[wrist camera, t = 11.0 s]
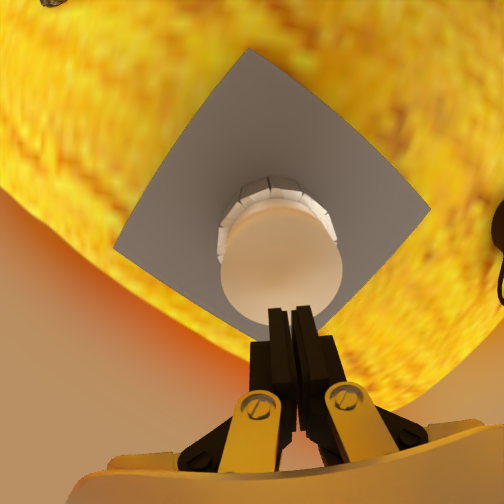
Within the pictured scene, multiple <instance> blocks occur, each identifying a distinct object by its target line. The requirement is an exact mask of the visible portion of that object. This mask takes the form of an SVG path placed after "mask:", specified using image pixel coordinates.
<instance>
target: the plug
mask: <svg viewBox="0 0 504 504" xmlns="http://www.w3.org/2000/svg"><path fill="white" fill-rule="evenodd" d="M341 280H342V260H341V256H340V253H339V250H338V248H337V246H336V244H335V243H334V241H333V240H332V238H331V236H330V235H329V233H328V232H327V230H326V228H325V227H324V225H323V224H322V222H321V221H320V219H319V218H318V217H317V215H316V214H315V213H314V212H313V211H312V210H310V209H309V208H308V207H306V206H305V205H303V204H301V203H298V202H296V201H293V200H289V199H268V200H264V201H261V202H258V203H256V204H254V205H252V206H250V207H249V208H247V209H246V210H245V211H243V212H242V213H241V214H240V215H239V216H238V218H237V219H236V220H235V222H234V223H233V225H232V227H231V229H230V232H229V235H228V239H227V244H226V248H225V252H224V257H223V261H222V265H221V283H222V287H223V290H224V293H225V295H226V297H227V299H228V301H229V302H230V303H231V305H232V306H233V307H234V308H235V309H236V310H237V311H238V312H239V313H241V314H242V315H243V316H245V317H246V318H248V319H250V320H252V321H254V322H257V323H260V324H264V325H269V320H268V308H280V307H281V309H282V311H287V314H288V320H289V325H291V310H296V306H304V305H310V307H311V310H312V314H313V317H314V316H316V315H317V314H319V313H320V312H321V311H323V310H324V309H325V308H326V307H327V306H328V305H329V304H330V302H331V301H332V300H333V298H334V297H335V295H336V293H337V291H338V289H339V287H340V283H341Z"/></svg>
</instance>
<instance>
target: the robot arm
mask: <svg viewBox="0 0 504 504" xmlns="http://www.w3.org/2000/svg"><path fill="white" fill-rule="evenodd" d="M268 320H269V337H270V341H257V342H251V343H250V383H249V384H250V385H249V392H248V393H246V394H244V395H243V396H241V398H240V399H239V400H238V401H237V404H236V406H235V410H234V414H233V416H232V417H231V418H229V419H228V420H227V421H225V422H224V423H222V424H221V425H220V426H218V427H217V428H215V429H214V430H213V431H211V432H210V433H208V434H207V435H205V436H204V437H202V438H201V439H200V440H198V441H196V442H195V443H194V444H192V445H191V446H189V447H187V448H186V449H185V450H184V451H183V452H181V453H176V454H173V452H162V453H149V454H134V455H121V456H116V457H115V458H113V459H111V461H110V462H109V463H108V466H107V469H106V470H101V471H97V472H94V473H90V474H88V475H86V476H84V477H83V478H81V479H80V480H79V481H78V482H77V483H76V485H75V486H74V488H73V489H72V491H71V493H70V495H69V497H68V499H67V501H66V503H65V504H504V424H495V425H486V426H485V425H484V424H483V423H482V422H481V421H479V420H476V419H469V420H462V421H455V422H447V423H438V424H429V425H428V427H422V426H420V425H419V424H417V423H414V422H412V421H410V420H407V419H405V418H403V417H400V416H398V415H396V414H393V413H391V412H389V411H387V410H384V409H382V408H380V407H378V406H376V405H374V404H373V402H372V400H371V398H370V396H369V395H368V393H367V391H366V390H365V389H364V388H363V387H362V386H361V385H359V384H357V383H354V382H347V380H346V377H345V374H344V371H343V367H342V364H341V361H340V358H339V355H338V351H337V348H336V345H335V342H334V339H333V336H332V335H326V336H318V332H317V329H316V325H315V321H314V318H313V314H312V310H311V307H310V305H304V306H296V310H291V333H290V327H289V320H288V314H287V311H282V309H281V307H280V308H268ZM291 339H292V340H291ZM297 408H298V416H299V424H300V430H301V431H306V436H307V438H309V439H310V440H311V441H313V442H315V443H316V444H318V450H319V452H320V455H321V458H322V461H323V464H324V467H320V468H312V469H304V470H294V471H281V472H280V468H281V460H282V450H283V449H284V448H285V447H286V446H287V445H288V444H289V443H291V442H292V432H296V420H297Z"/></svg>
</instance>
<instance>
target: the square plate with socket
mask: <svg viewBox="0 0 504 504" xmlns="http://www.w3.org/2000/svg"><path fill="white" fill-rule="evenodd" d="M268 199H289V200H293V201H296V202H298V203H301V204H303V205H305V206H306V207H308V208H309V209H310V210H312V211H313V212H314V213H315V214H316V215H317V217H318V218H319V219H320V221H321V222H322V224H323V225H324V227H325V228H326V230H327V232H328V233H329V235H330V236H331V238H332V240H333V241H334V243H335V244H336V246H337V248H338V250H339V253H340V256H341V260H342V280H341V283H340V287H339V289H338V291H337V293H336V295H335V297H334V298H333V300H332V301H331V302H330V304H329V305H328V306H327V307H326V308H325V309H324V310H323V311H321V312H320V313H319V314H317V315H316V316H314V317H313V318H314V321H315V325H316V329H317V331H318V330H319V329H320V328H321V327H323V326H324V325H325V324H326V323H327V322H328V321H329V320H330V319H331V318H332V317H333V316H334V315H335V314H336V313H337V312H338V311H339V310H340V309H341V308H342V307H343V306H344V305H345V304H346V303H347V302H348V301H349V300H350V299H351V298H352V297H353V296H354V295H355V294H356V293H357V292H358V291H359V290H360V289H361V288H362V287H363V286H364V285H365V284H366V283H367V282H368V281H369V280H370V279H371V277H372V276H373V275H374V274H375V273H376V272H377V271H378V270H379V269H380V268H381V267H382V266H383V265H384V263H385V262H386V261H387V260H388V259H389V258H390V257H391V256H392V255H393V254H394V252H395V251H396V250H397V249H398V248H399V247H400V246H401V244H402V243H403V242H404V241H405V240H406V239H407V238H408V236H409V235H410V234H411V233H412V232H413V231H414V229H415V228H416V227H417V226H418V225H419V223H420V222H421V221H422V220H423V219H424V217H425V216H426V215H427V214H428V212H429V211H430V210H431V208H430V207H429V206H428V205H427V203H426V202H425V201H424V200H423V199H422V198H421V196H420V195H419V194H418V193H417V192H416V191H415V190H414V189H413V187H412V186H411V185H410V184H409V183H408V182H407V181H406V180H405V179H404V178H403V176H402V175H401V174H400V173H399V172H398V171H397V170H396V169H395V168H394V167H393V166H392V165H391V164H390V163H389V162H388V161H387V160H386V159H385V158H384V157H383V156H382V155H381V154H380V153H379V152H378V151H377V150H376V149H375V148H374V147H373V146H372V145H371V144H370V143H369V142H368V141H367V140H366V139H365V138H364V137H363V136H362V135H361V134H359V133H358V132H357V131H356V130H355V129H354V128H353V127H352V126H351V125H350V124H348V123H347V122H346V121H345V120H344V119H343V118H342V117H341V116H339V115H338V114H337V113H336V112H335V111H334V110H332V109H331V108H330V107H329V106H328V105H326V104H325V103H324V102H323V101H322V100H320V99H319V98H318V97H317V96H315V95H314V94H313V93H312V92H310V91H309V90H308V89H307V88H305V87H304V86H303V85H301V84H300V83H299V82H297V81H296V80H295V79H293V78H292V77H291V76H289V75H288V74H287V73H285V72H284V71H282V70H281V69H280V68H278V67H277V66H275V65H274V64H273V63H271V62H270V61H268V60H267V59H265V58H264V57H262V56H261V55H259V54H258V53H256V52H255V51H253V50H252V49H250V48H248V49H247V50H246V51H245V53H244V54H243V55H242V56H241V57H240V58H239V60H238V61H237V62H236V63H235V64H234V66H233V67H232V68H231V69H230V70H229V72H228V73H227V74H226V75H225V76H224V78H223V79H222V80H221V81H220V83H219V84H218V85H217V87H216V88H215V89H214V90H213V92H212V93H211V94H210V96H209V97H208V98H207V100H206V101H205V102H204V103H203V105H202V106H201V108H200V109H199V110H198V112H197V113H196V114H195V116H194V117H193V118H192V120H191V121H190V123H189V124H188V125H187V127H186V128H185V130H184V131H183V133H182V134H181V135H180V137H179V138H178V140H177V141H176V143H175V144H174V146H173V147H172V149H171V150H170V152H169V153H168V155H167V156H166V158H165V159H164V161H163V162H162V164H161V166H160V167H159V169H158V170H157V172H156V173H155V175H154V177H153V178H152V180H151V181H150V183H149V185H148V186H147V188H146V190H145V191H144V193H143V195H142V196H141V198H140V200H139V201H138V203H137V205H136V207H135V208H134V210H133V212H132V214H131V215H130V217H129V219H128V221H127V223H126V224H125V226H124V228H123V230H122V232H121V234H120V235H119V237H118V239H117V241H116V243H115V245H114V247H113V249H115V250H116V251H117V252H119V253H120V254H122V255H123V256H124V257H126V258H127V259H129V260H130V261H132V262H133V263H134V264H136V265H137V266H139V267H140V268H142V269H143V270H145V271H146V272H148V273H149V274H151V275H152V276H153V277H155V278H156V279H158V280H159V281H161V282H162V283H164V284H166V285H167V286H169V287H170V288H172V289H173V290H175V291H176V292H178V293H179V294H181V295H182V296H184V297H186V298H187V299H189V300H190V301H192V302H193V303H195V304H197V305H198V306H200V307H201V308H203V309H205V310H206V311H208V312H209V313H211V314H213V315H214V316H216V317H218V318H219V319H221V320H222V321H224V322H226V323H227V324H229V325H231V326H232V327H234V328H236V329H238V330H239V331H241V332H243V333H244V334H246V335H248V336H249V337H251V338H253V339H255V340H256V341H270V337H269V325H264V324H260V323H257V322H254V321H252V320H250V319H248V318H246V317H245V316H243V315H242V314H241V313H239V312H238V311H237V310H236V309H235V308H234V307H233V306H232V305H231V303H230V302H229V301H228V299H227V297H226V295H225V293H224V290H223V287H222V283H221V265H222V261H223V257H224V252H225V248H226V244H227V239H228V235H229V232H230V229H231V227H232V225H233V223H234V222H235V220H236V219H237V218H238V216H239V215H240V214H241V213H242V212H243V211H245V210H246V209H247V208H249V207H250V206H252V205H254V204H256V203H258V202H261V201H264V200H268ZM289 327H290V333H291V325H289ZM291 340H292V339H291Z"/></svg>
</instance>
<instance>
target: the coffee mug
mask: <svg viewBox="0 0 504 504" xmlns="http://www.w3.org/2000/svg"><path fill="white" fill-rule="evenodd" d="M491 234H492V239H493V242H494V244H495V245H496V246H497V247H498V248H499V249H500V250H501V251H502V252H503V256H504V200H503V201H502V202H501V203H500V205H499V206H498V208H497V210H496V212H495V214H494V217H493V221H492V228H491ZM503 278H504V257H503V262H502V266H501V270H500V274H499V278H498V288H497V292H498V298H499V301H500V303H501V304H502V305H503V306H504V298H503V297H502V283H503Z"/></svg>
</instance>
